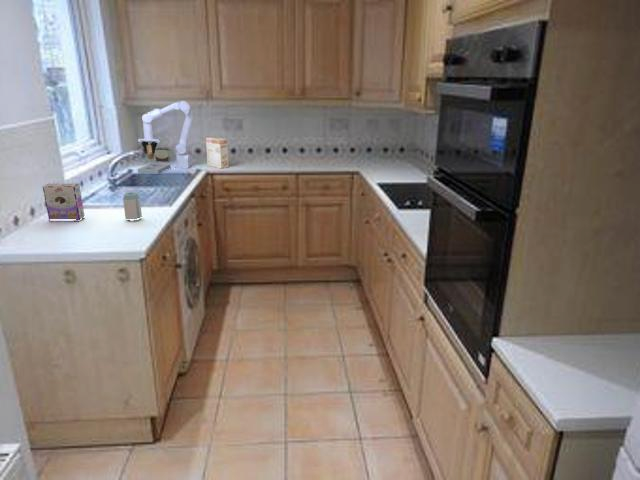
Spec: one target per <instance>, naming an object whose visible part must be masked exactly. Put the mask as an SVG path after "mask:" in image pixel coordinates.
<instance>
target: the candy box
mask: <svg viewBox="0 0 640 480" xmlns="http://www.w3.org/2000/svg"><path fill="white" fill-rule="evenodd" d="M80 187H81V186H80V183H79V182H78V183H47V184H45V185H43V186H42V191H43V196H44V200H45V206H46V210H47V216H48V217H47V218H48V220H49V219H76V220H80V219H81V218H83V217H84V216H85V209H84V204H83V199H82V192H81V188H80Z"/></svg>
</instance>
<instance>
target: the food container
mask: <svg viewBox="0 0 640 480" xmlns="http://www.w3.org/2000/svg"><path fill="white" fill-rule="evenodd" d="M170 151H171V148H170V147H168V146H156V149H155V153H154V159H155V162H157V163H170Z"/></svg>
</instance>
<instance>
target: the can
mask: <svg viewBox="0 0 640 480" xmlns="http://www.w3.org/2000/svg"><path fill="white" fill-rule="evenodd" d="M123 195H124V196H123V197H122V202H123V210H124V217H125V220H126V219H137V218H140V217H142V218H143V214H142V205H141V199H140V195H139V194H138V193H137V192H127V193H124V194H123Z"/></svg>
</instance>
